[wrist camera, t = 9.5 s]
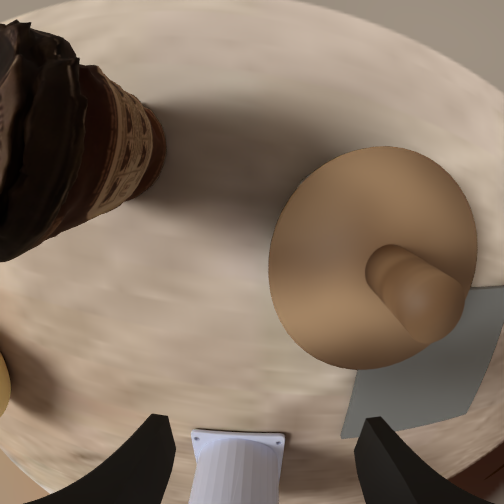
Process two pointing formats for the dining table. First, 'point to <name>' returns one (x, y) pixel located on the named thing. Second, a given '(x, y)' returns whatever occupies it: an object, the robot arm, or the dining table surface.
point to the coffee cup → (65, 140)
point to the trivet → (432, 372)
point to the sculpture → (4, 386)
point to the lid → (372, 258)
